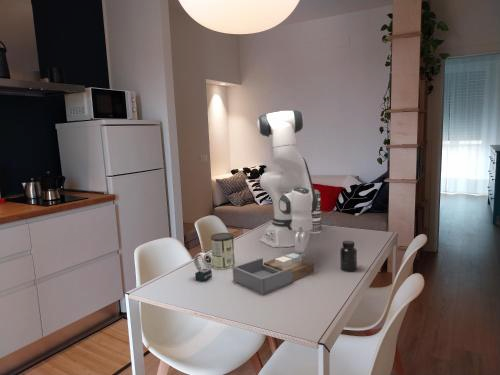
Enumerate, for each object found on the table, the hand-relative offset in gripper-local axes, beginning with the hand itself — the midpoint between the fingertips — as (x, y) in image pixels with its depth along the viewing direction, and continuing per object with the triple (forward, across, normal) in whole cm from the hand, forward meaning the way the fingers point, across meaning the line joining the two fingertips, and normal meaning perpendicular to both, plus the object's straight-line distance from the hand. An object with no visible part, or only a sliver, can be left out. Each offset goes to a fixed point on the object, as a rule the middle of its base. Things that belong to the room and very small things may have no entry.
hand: (302, 255), depth 161 cm
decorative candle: (+5, +58, +1) cm, 58 cm away
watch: (+5, -21, +38) cm, 44 cm away
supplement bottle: (+5, 0, -19) cm, 20 cm away
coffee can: (+5, -4, +36) cm, 36 cm away
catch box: (+5, -20, +14) cm, 24 cm away
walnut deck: (+5, -7, +5) cm, 10 cm away
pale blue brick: (+1, -5, +3) cm, 6 cm away
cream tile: (+1, -10, +7) cm, 12 cm away
